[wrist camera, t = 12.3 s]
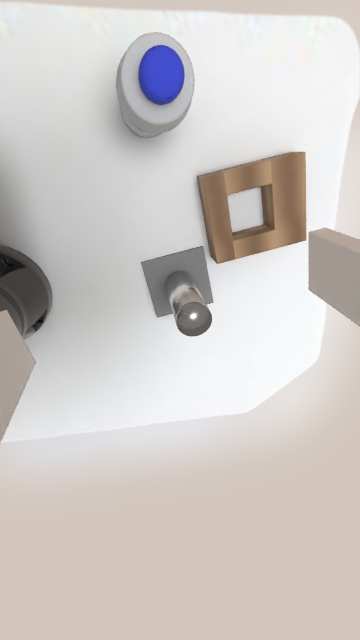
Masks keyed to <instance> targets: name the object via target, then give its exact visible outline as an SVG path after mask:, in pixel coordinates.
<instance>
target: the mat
mask: <svg viewBox="0 0 360 640" xmlns="http://www.w3.org/2000/svg"><path fill="white" fill-rule="evenodd" d="M141 263H142V267H143V270H144V274H145V277H146V281H147V284H148V287H149V291H150V294H151V298H152V301H153V304H154V308H155V311H156V315H157V318H158V317H162V316H165V315H169V314H173V311H172V307H171V304H170V301H169V297H168V294H167V291H166V287H165V282H166V279H167V277H168V276H169V275H170V274H171V273H172V272H175V271H185V272H187V273H188V274H189V275H190V276H191V277H192V279H193V281H194V283H195V285H196V287H197V288H198V290H199V292H200V294H201V296H202V298H203V300H204V301H205V303H206V304H210V303H213V298H212V292H211V287H210V281H209V276H208V270H207V265H206V259H205V254H204V248H203V246H201V247H197V248H193V249H190V250H186V251H182V252H178V253H174V254H171V255H167V256H163V257H159V258H155V259H152V260H148V261H144V262H141Z"/></svg>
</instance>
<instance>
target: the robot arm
mask: <svg viewBox="0 0 360 640" xmlns="http://www.w3.org/2000/svg"><path fill="white" fill-rule="evenodd" d="M309 290H310V291H311V292H313V293H314V294H315V295H317V296H318V297H319V298H321V299H322V300H324V301H325V302H326V303H328V304H329V305H331V306H332V307H333V308H335V309H336V310H337V311H339V312H340V313H342V314H343V315H345V316H346V317H347V318H349V319H350V320H351V321H353V322H354V323H355V324H357V325H358V326H360V240H359V239H356V238H353V237H351V236H348V235H345V234H342V233H339V232H336V231H333V230H331V229H328V228H323V229H319V230H315V231H311V232H309ZM51 305H52V292H51V288H50V285H49V282H48V280H47V278H46V276H45V275H44V273H43V272H42V270H41V269H40V268H39V267H38V266H37V265H36V264H35V263H34V262H33V261H32V260H31V259H29V258H28V257H27V256H25V255H24V254H22V253H20V252H18V251H16V250H14V249H11V248H9V247H5V246H2V245H0V443H1V441H2V438H3V436H4V434H5V432H6V429H7V427H8V425H9V422H10V420H11V418H12V416H13V413H14V411H15V409H16V406H17V404H18V402H19V399H20V397H21V395H22V393H23V390H24V388H25V386H26V383H27V381H28V379H29V377H30V374H31V372H32V370H33V367H34V365H35V363H36V361H35V360H34V358H33V356H32V354H31V352H30V351H29V349H28V347H27V345H26V343H25V342H24V339H26V338H28V337H29V336H31V335H33V334H34V333H35V332H36V331H37V330H39V329H40V327H41V326H42V325H43V324H44V322H45V320H46V318H47V316H48V314H49V312H50V309H51Z"/></svg>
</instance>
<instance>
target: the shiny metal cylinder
mask: <svg viewBox="0 0 360 640" xmlns="http://www.w3.org/2000/svg"><path fill="white" fill-rule="evenodd" d="M165 287H166V291H167V294H168V297H169V301H170V304H171V307H172V311H173V314H174V317H175V321H176V324H177V327H178V329H179V330H180V332H181V333H183V334H184V335H187V336H198V335H201V334H203V333H204V332H206V331H207V330H208V328H209V327H210V325H211V322H212V315H211V313H210V311H209V309H208V307H207V305H206V303H205V301H204V300H203V298H202V296H201V294H200V292H199V290H198V288H197V287H196V285H195V283H194V281H193V279H192V277H191V276H190V275H189V274H188V273H187V272H185V271H175V272H172V273H171V274H170V275H169V276H168V277H167V279H166V282H165Z"/></svg>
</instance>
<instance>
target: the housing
mask: <svg viewBox="0 0 360 640" xmlns="http://www.w3.org/2000/svg"><path fill="white" fill-rule="evenodd" d="M197 179H198V185H199V191H200V196H201V202H202V208H203V214H204V220H205V225H206V231H207V237H208V243H209V249H210V254H211V257H212V258H213V260H214V261H215V262H216V263H217V264H219V263H223V262H227V261H230V260H234V259H238V258H242V257H245V256H249V255H253V254H257V253H261V252H264V251H268V250H272V249H276V248H279V247H283V246H287V245H291V244H294V243H298V242H302V241H306V164H305V152H290V153H286V154H282V155H278V156H274V157H270V158H266V159H262V160H259V161H255V162H251V163H247V164H243V165H239V166H235V167H231V168H227V169H223V170H219V171H216V172H212V173H208V174H204V175H200V176H197ZM260 186H261V192H262V205H263V218H264V225H261V226H257V227H253V228H250V229H246V230H242V231H238V232H234V233H232V230H231V223H230V215H229V207H228V200H227V195H229V194H233V193H237V192H240V191H244V190H248V189H252V188H256V187H260Z"/></svg>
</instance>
